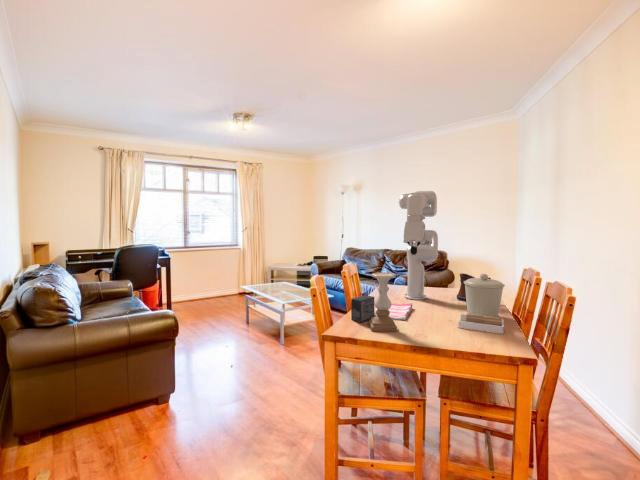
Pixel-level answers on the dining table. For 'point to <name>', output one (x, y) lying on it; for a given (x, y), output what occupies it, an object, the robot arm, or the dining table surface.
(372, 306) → the small box
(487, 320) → the tile
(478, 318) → the tile
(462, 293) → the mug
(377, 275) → the candle holder
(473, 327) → the tray
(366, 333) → the dining table surface
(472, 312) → the canister
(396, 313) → the dish towel
